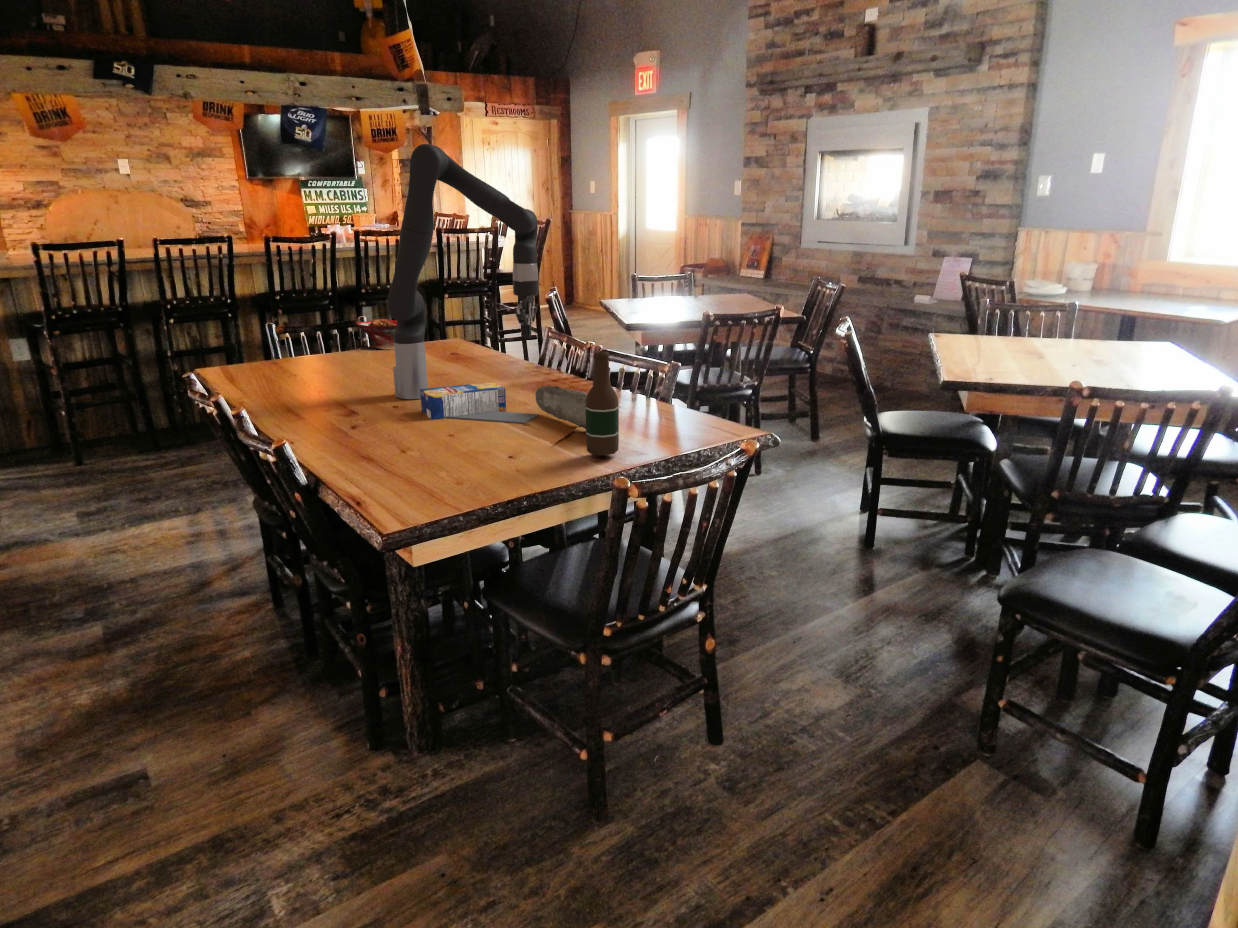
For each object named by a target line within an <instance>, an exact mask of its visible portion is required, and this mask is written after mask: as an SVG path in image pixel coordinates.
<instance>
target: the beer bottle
mask: <svg viewBox="0 0 1238 928" xmlns="http://www.w3.org/2000/svg"><path fill="white" fill-rule="evenodd" d="M592 356H593V358H594V365H593V366H594V368H593V383H592V387H591V388H590V389H589V391H588V393H587V398H586V429H585V435H586V436H585V440H586V441H585V442H586V443H585V446H586V451H587V452H588V453H589V454H591V455H593V456H594V455H596V456H609V455H614V454H616V453H617V452H618V451H619V444H620V443H619V441H620V440H619V439H620V437H619V435H620V433H619V432H620V431H619V429H620V426H619V424H620V423H619V419H620V418H619V412H620V411H619V410H620V409H619V408H620V407H619V398H618V395H617V393H616V390H614V388H613V386H612V384H611V383H612V382H611V377H610V376H611V374H610V363H609V358H610V357H611V355H610V352H609V351H607V350H597V351H594V353H593V355H592Z"/></svg>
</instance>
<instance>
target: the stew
mask: <svg viewBox="0 0 1238 928" xmlns="http://www.w3.org/2000/svg"><path fill="white" fill-rule="evenodd" d="M355 324H356V325H357V326H358V328H359V329H360V330H361V331H363V333H365V334H366V335H367V336H368V337H369V338H370V340H372V341H374V343H375V344H374V345H372V346H371V345H370V346H368V345H364V341H361V343H362V344H361V345H360V347H356V349H357V350H363V351H374V350H373V349H377V350H382V348H383V349H385V350H384V351H394V349H392V348H394V340H393V334H394V332H395V330H396V327H397V320H395V319H394V320H388V319H387V318H386V319H385V318H378V319H376V318H375V319H372V320H366V321H360V322H356V323H355Z"/></svg>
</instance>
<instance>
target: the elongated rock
mask: <svg viewBox="0 0 1238 928" xmlns="http://www.w3.org/2000/svg"><path fill="white" fill-rule="evenodd" d="M587 395H588V393H586V392H585V391H581V390H580V391H578V390H573V389H572V388H563V387H561V386H558V385H554V386H553V385H549V384H548V385H546V386H545V385H542V386H540V387H539V388H537V389H536V390H535V401H536V405H537V406H538V407H539V409H541V411H543V412H545V413H547V414H548V415H551V416H553V417H555V418H557V419H558V420H562V421H566V422H569V423H571V424H572V425H573V424H574V425H575V426H578V428H579V429H580V428H581V427H582V428H584V429H585V430H586V398H587Z"/></svg>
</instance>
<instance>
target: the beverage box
mask: <svg viewBox="0 0 1238 928" xmlns="http://www.w3.org/2000/svg"><path fill="white" fill-rule="evenodd" d="M506 392H507V391H506V388H505V387H504V386H501V385H500V384H498V383H496V382H494V381H490V382H480V383H470V384H469V383H468V384H461V385H460V384H459V385H449V386H448V385H447V386H440V387H439V386H436V387H428V388H426V389H420V395H421V398H420V407H421V408H420V409H421V413H422V414H423V415H425V417H427V418H428V419H429V420H430V421H432V420H440V419H441V420H443V419H447V418H446V417H447V416H456V415H465V414H474V413H483V412H492V411H501V412H507V396H506V395H507V393H506Z"/></svg>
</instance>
